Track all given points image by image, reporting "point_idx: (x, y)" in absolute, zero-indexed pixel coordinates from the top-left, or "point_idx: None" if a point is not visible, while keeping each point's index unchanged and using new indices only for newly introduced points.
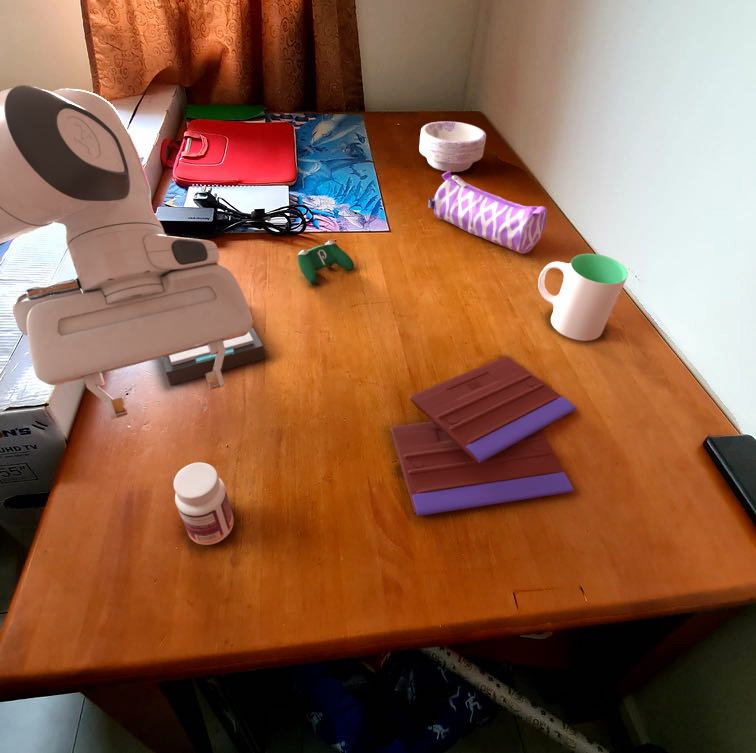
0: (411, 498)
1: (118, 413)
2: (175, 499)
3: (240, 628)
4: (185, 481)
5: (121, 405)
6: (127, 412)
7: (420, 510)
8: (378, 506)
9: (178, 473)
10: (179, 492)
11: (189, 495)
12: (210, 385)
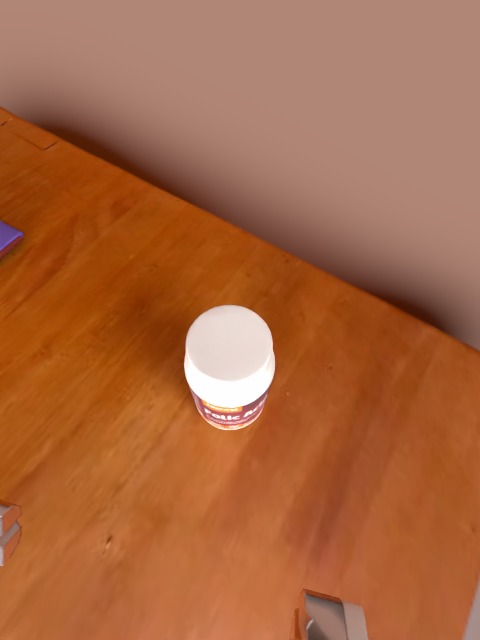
0: (3, 250)
1: (333, 601)
2: (272, 374)
3: (268, 263)
4: (247, 349)
5: (315, 627)
6: (295, 618)
7: (14, 231)
8: (41, 277)
9: (249, 375)
10: (267, 335)
11: (255, 318)
12: (6, 508)
